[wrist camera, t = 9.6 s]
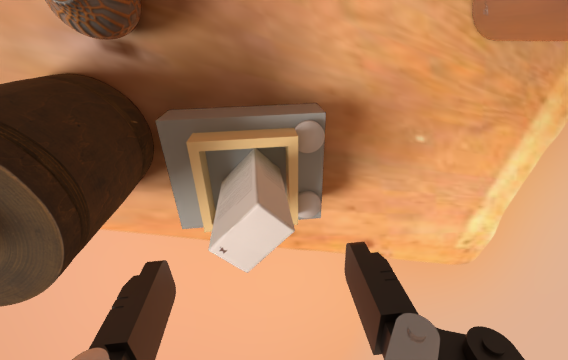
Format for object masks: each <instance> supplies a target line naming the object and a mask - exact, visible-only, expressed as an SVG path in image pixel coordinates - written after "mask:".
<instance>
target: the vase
mask: <svg viewBox="0 0 568 360" xmlns="http://www.w3.org/2000/svg"><path fill="white" fill-rule="evenodd" d="M45 1H46V2H47V4H48V6H49V7H50V8H51V10H52V11H53V12H54V13H55V14H56V15H57V17H58V18H60V19H61V20H62V21H63V22H64V23H65V24H67V25H68V26H69V27H71V28H72V29H74V30H76V31H78V32H80V33H82V34H84V35H86V36H89V37H92V38H96V39H105V40H108V39H117V38H121V37H123V36H125V35H127V34H128V33H130V32H131V31H132V30H133V29H134V28H135V26H136V25H137V23H138V21H139V18H140V14H141V2H140V0H45Z"/></svg>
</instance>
